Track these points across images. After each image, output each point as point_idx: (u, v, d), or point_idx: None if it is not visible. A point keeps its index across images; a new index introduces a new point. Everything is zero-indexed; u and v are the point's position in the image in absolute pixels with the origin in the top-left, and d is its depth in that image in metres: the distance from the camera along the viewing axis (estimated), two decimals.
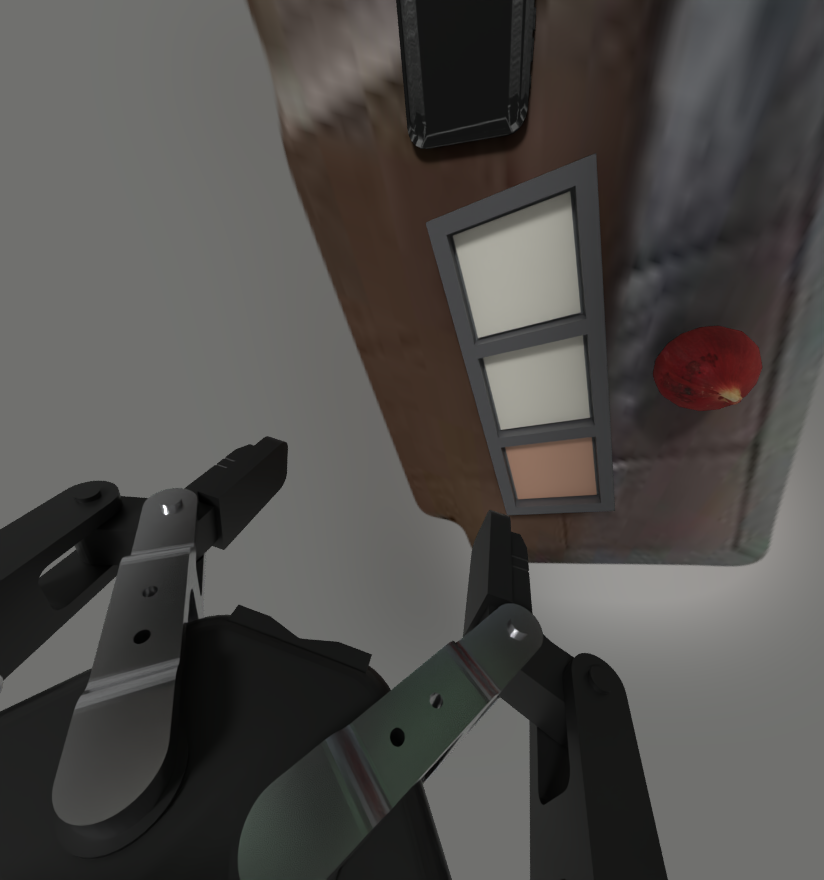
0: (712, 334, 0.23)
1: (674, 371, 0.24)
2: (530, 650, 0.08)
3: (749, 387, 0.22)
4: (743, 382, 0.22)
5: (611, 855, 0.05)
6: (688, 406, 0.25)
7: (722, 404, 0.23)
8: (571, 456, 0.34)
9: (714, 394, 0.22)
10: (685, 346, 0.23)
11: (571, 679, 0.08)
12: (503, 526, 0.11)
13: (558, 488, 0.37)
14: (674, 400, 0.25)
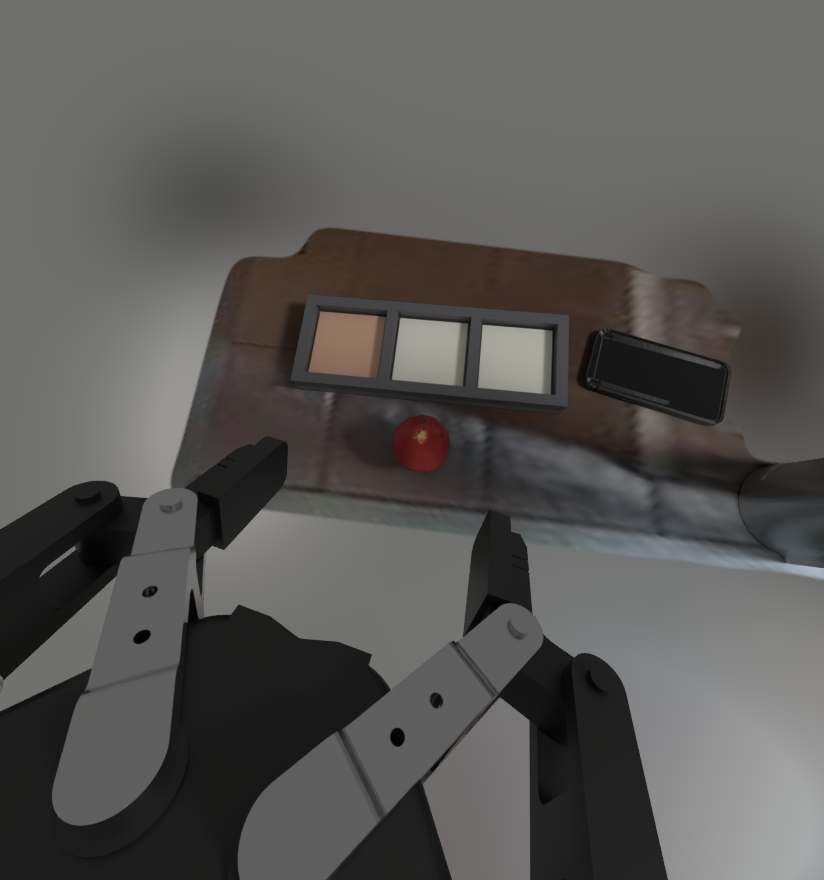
0: (449, 445, 0.34)
1: (434, 419, 0.34)
2: (530, 650, 0.08)
3: (415, 453, 0.32)
4: (423, 447, 0.32)
5: (611, 855, 0.05)
6: (405, 423, 0.34)
7: (408, 436, 0.32)
8: (357, 361, 0.40)
9: (421, 429, 0.32)
10: (446, 430, 0.35)
11: (571, 679, 0.08)
12: (503, 526, 0.11)
13: (323, 346, 0.40)
14: (410, 418, 0.34)
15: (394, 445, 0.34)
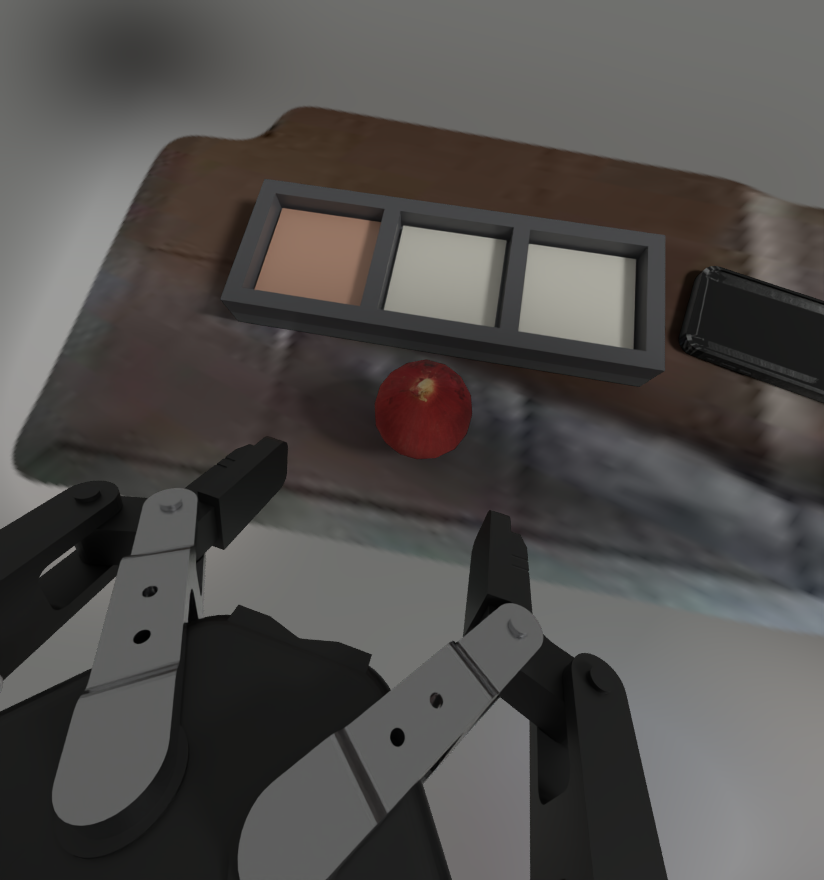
0: (471, 415, 0.20)
1: (449, 368, 0.20)
2: (530, 650, 0.08)
3: (411, 419, 0.18)
4: (426, 410, 0.18)
5: (611, 855, 0.05)
6: (398, 370, 0.19)
7: (401, 389, 0.18)
8: (331, 283, 0.25)
9: (427, 376, 0.17)
10: None
11: (571, 679, 0.08)
12: (503, 526, 0.11)
13: (281, 256, 0.26)
14: (407, 364, 0.20)
15: (376, 407, 0.20)
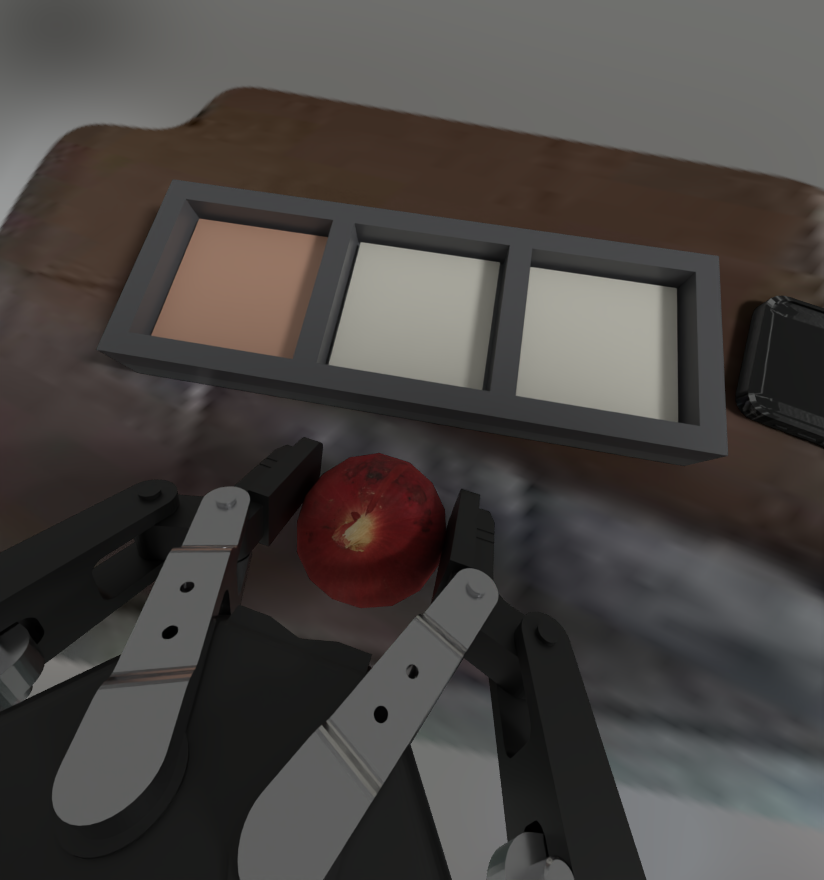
0: None
1: (410, 471, 0.13)
2: (484, 607, 0.09)
3: (342, 574, 0.11)
4: (365, 563, 0.11)
5: (573, 789, 0.06)
6: (329, 478, 0.12)
7: (324, 523, 0.11)
8: (259, 322, 0.18)
9: (365, 507, 0.10)
10: (440, 501, 0.13)
11: (522, 639, 0.08)
12: (472, 503, 0.12)
13: (193, 285, 0.19)
14: (345, 463, 0.13)
15: (297, 533, 0.13)
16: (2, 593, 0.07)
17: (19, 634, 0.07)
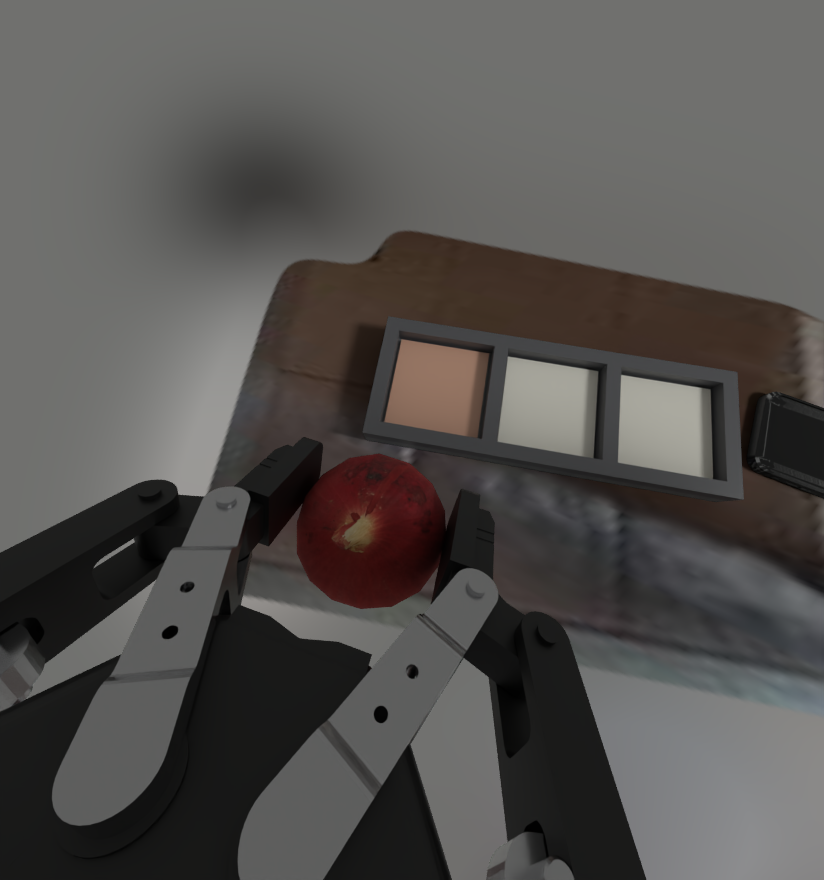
0: None
1: (410, 472, 0.13)
2: (484, 607, 0.09)
3: (341, 575, 0.11)
4: (365, 564, 0.11)
5: (573, 789, 0.06)
6: (329, 479, 0.12)
7: (324, 524, 0.11)
8: (451, 411, 0.30)
9: (364, 508, 0.10)
10: (440, 501, 0.13)
11: (522, 639, 0.08)
12: (472, 503, 0.12)
13: (405, 386, 0.30)
14: (345, 464, 0.13)
15: (297, 534, 0.13)
16: (2, 593, 0.07)
17: (19, 634, 0.07)
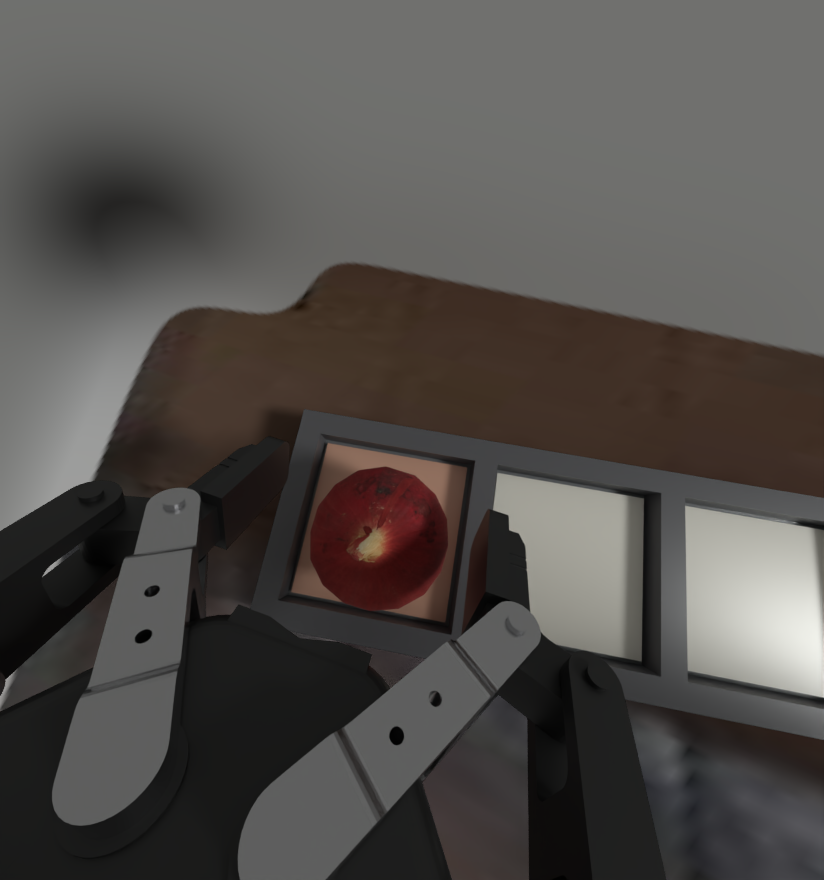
0: None
1: (415, 485, 0.14)
2: (528, 647, 0.08)
3: (354, 582, 0.12)
4: (376, 572, 0.12)
5: (609, 851, 0.05)
6: (341, 492, 0.13)
7: (338, 536, 0.12)
8: None
9: (376, 521, 0.11)
10: (443, 511, 0.14)
11: (568, 677, 0.08)
12: (501, 525, 0.11)
13: None
14: (355, 477, 0.14)
15: (310, 542, 0.14)
16: None
17: None
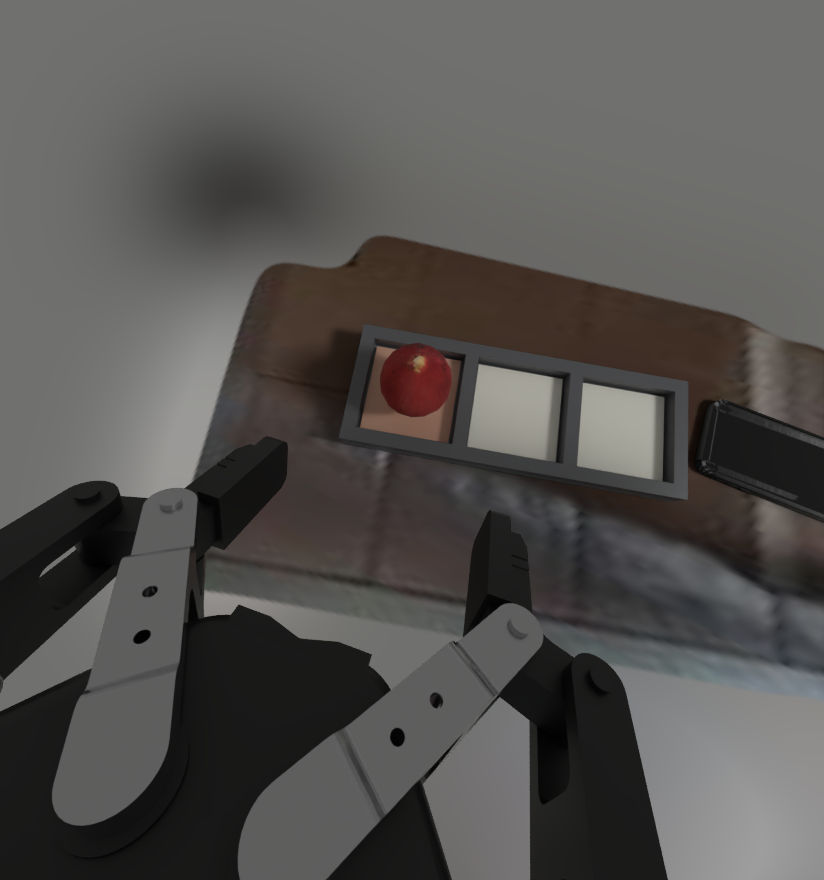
0: (451, 384, 0.27)
1: (435, 349, 0.27)
2: (530, 650, 0.08)
3: (408, 385, 0.25)
4: (419, 378, 0.25)
5: (611, 855, 0.05)
6: (398, 350, 0.26)
7: (401, 363, 0.25)
8: (424, 417, 0.31)
9: (419, 354, 0.25)
10: None
11: (571, 679, 0.08)
12: (503, 526, 0.11)
13: None
14: (404, 346, 0.27)
15: (382, 378, 0.27)
16: None
17: None
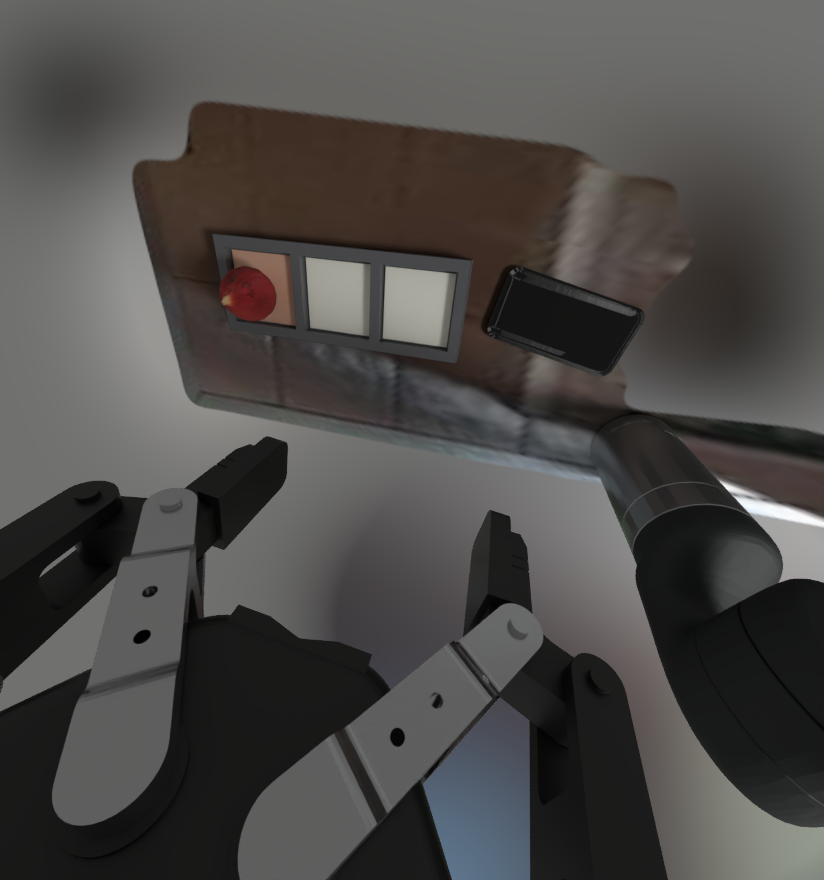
0: (268, 298, 0.39)
1: (245, 275, 0.37)
2: (530, 650, 0.08)
3: (233, 311, 0.39)
4: (235, 308, 0.38)
5: (611, 855, 0.05)
6: (221, 281, 0.38)
7: (222, 297, 0.38)
8: (278, 307, 0.44)
9: (227, 292, 0.37)
10: (262, 284, 0.38)
11: (571, 679, 0.08)
12: (503, 526, 0.11)
13: None
14: (226, 274, 0.38)
15: None
16: None
17: None
